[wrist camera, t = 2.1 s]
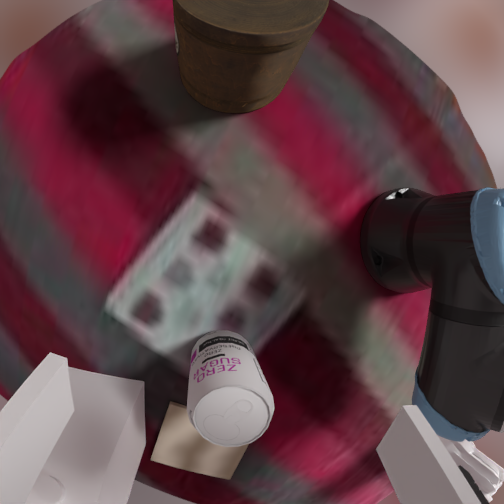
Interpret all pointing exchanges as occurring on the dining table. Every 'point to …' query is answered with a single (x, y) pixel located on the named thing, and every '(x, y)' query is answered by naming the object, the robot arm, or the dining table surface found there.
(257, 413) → the supplement can
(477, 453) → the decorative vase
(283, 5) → the wooden container
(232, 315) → the dining table surface
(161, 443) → the beige cloth
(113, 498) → the milk
